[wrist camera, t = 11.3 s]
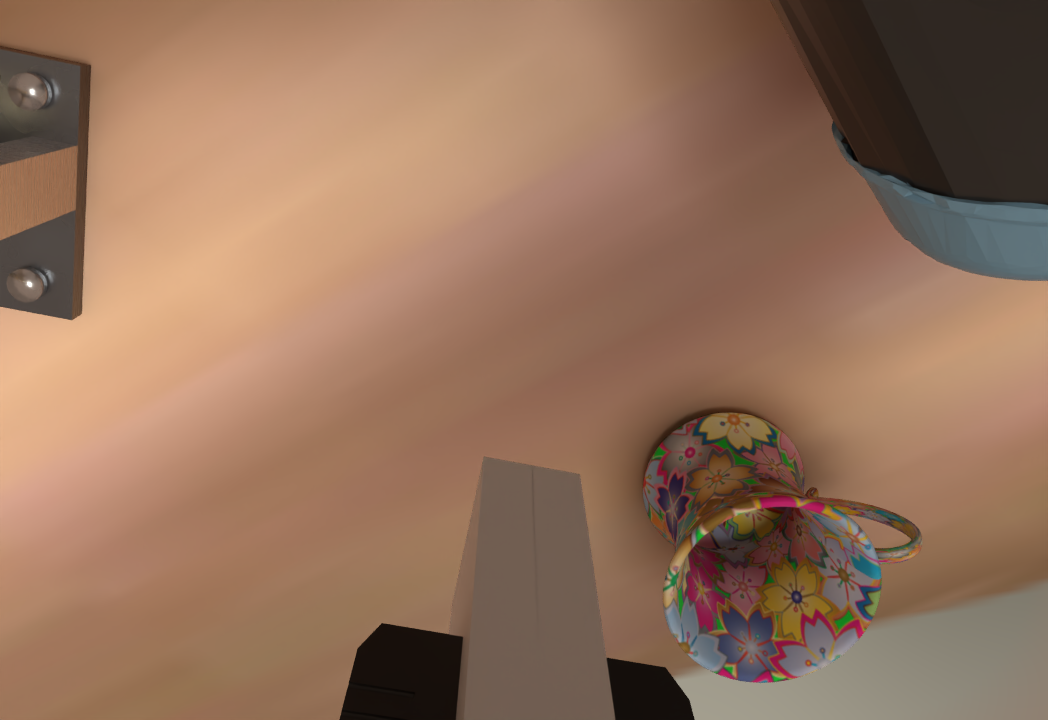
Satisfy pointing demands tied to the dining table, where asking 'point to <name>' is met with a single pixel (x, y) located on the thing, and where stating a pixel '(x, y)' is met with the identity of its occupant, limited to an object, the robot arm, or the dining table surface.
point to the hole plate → (58, 245)
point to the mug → (761, 552)
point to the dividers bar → (35, 182)
